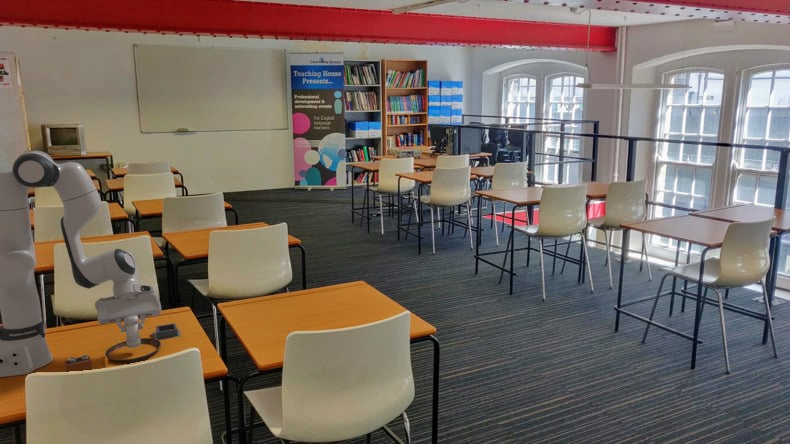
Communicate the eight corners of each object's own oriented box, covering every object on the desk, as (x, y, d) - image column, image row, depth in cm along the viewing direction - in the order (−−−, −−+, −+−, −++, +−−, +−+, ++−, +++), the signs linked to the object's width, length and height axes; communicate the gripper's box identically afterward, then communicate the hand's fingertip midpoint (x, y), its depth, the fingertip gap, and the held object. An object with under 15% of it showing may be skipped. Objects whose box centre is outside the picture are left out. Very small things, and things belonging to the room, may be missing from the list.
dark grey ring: (100, 370, 194) (99, 361, 193) (112, 348, 211) (111, 340, 210) (158, 364, 198) (157, 355, 197) (165, 343, 215) (164, 335, 214)
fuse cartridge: (127, 348, 201) (124, 320, 199) (126, 343, 204) (123, 316, 202) (141, 345, 202) (138, 318, 200) (140, 341, 206) (137, 314, 204)
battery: (67, 388, 181) (64, 357, 179) (92, 382, 185) (88, 352, 183) (70, 393, 178) (66, 362, 176) (95, 387, 182) (91, 356, 180)
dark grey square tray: (155, 343, 214) (154, 334, 213) (153, 335, 222) (152, 325, 221) (181, 339, 218) (180, 329, 217) (178, 330, 226) (177, 321, 225)
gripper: (93, 294, 201) (97, 331, 195) (158, 285, 210) (163, 320, 204) (95, 303, 206) (98, 339, 200) (158, 294, 215) (163, 328, 209)
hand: (132, 330), depth 202 cm, fingers closed on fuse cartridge, 4 cm apart
